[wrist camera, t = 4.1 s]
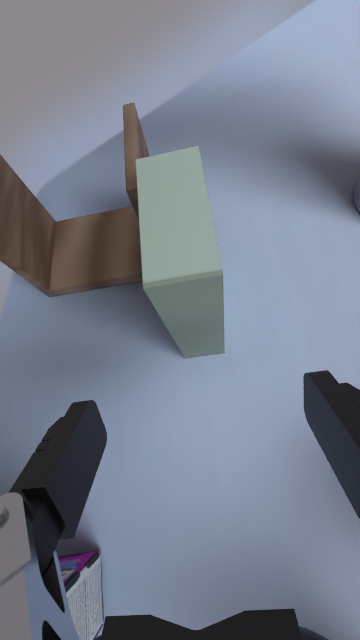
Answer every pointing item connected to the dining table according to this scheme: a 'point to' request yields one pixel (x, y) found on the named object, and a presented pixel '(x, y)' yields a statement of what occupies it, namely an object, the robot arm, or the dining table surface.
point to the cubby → (73, 232)
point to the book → (181, 250)
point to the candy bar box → (84, 592)
